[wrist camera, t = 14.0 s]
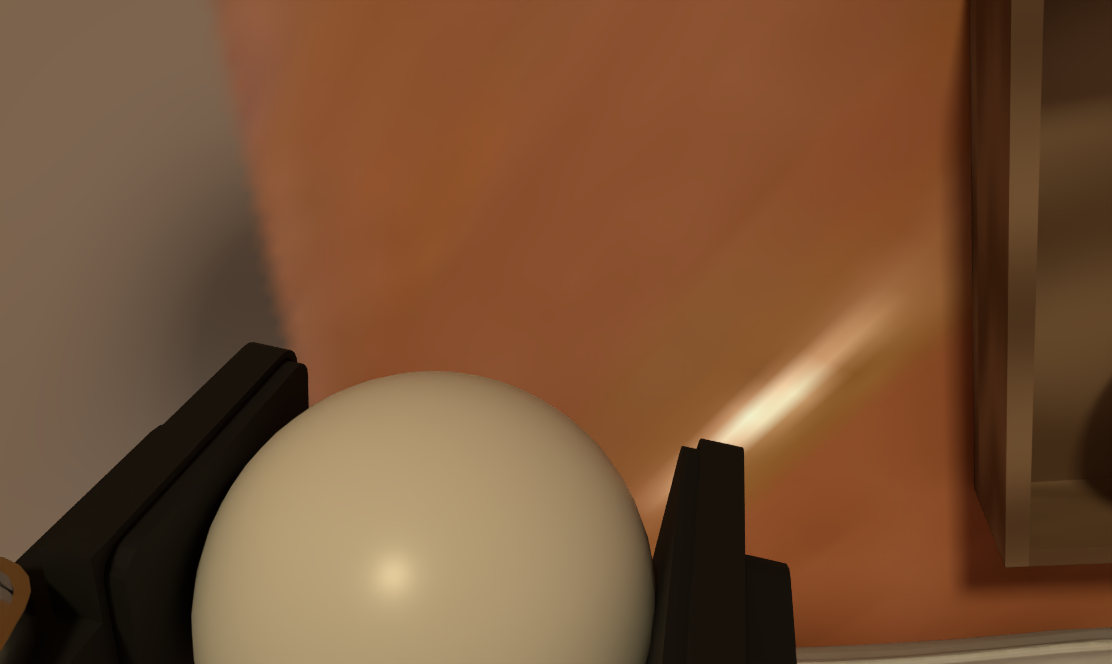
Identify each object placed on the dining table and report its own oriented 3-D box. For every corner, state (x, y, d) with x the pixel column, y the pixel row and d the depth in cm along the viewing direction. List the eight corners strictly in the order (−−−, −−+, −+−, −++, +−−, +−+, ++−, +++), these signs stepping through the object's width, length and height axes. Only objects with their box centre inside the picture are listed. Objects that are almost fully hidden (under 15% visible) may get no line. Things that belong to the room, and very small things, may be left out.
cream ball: (636, 626, 13) (584, 1016, 8) (320, 551, 13) (117, 883, 9) (707, 340, 10) (685, 683, 6) (314, 262, 11) (29, 527, 6)
